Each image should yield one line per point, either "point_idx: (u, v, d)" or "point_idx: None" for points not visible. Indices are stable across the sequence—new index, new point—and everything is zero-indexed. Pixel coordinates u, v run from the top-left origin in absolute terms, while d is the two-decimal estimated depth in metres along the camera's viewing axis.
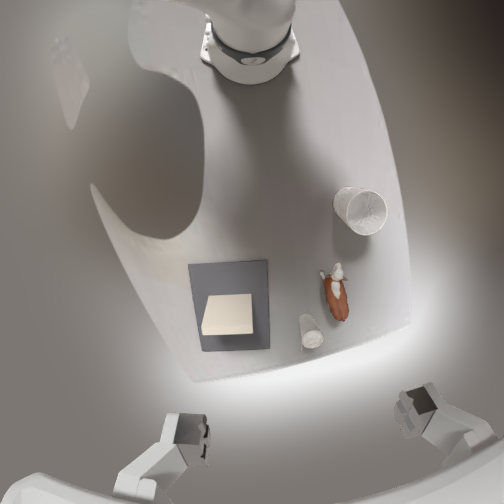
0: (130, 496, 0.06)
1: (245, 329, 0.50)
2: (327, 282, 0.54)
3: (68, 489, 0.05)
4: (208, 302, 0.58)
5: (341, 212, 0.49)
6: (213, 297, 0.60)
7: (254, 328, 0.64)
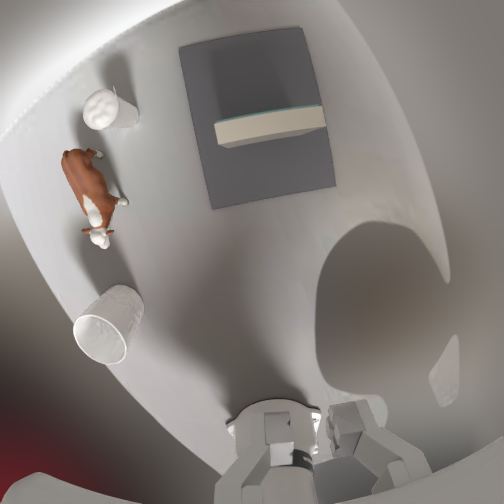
0: None
1: (231, 130, 0.22)
2: (109, 214, 0.31)
3: (68, 489, 0.05)
4: None
5: (129, 322, 0.34)
6: None
7: (211, 82, 0.31)
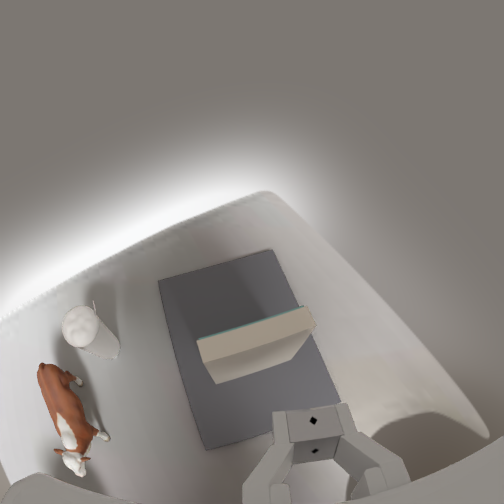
0: None
1: (216, 347, 0.20)
2: (85, 441, 0.20)
3: (68, 489, 0.05)
4: (293, 354, 0.29)
5: None
6: (282, 361, 0.30)
7: (192, 315, 0.34)
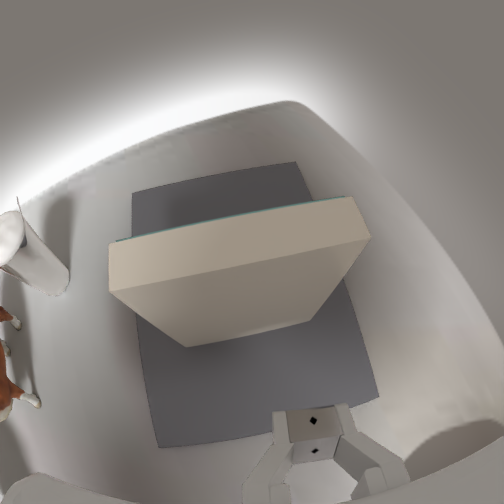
0: None
1: (142, 259, 0.09)
2: None
3: (68, 489, 0.05)
4: (314, 310, 0.17)
5: None
6: (296, 321, 0.19)
7: None
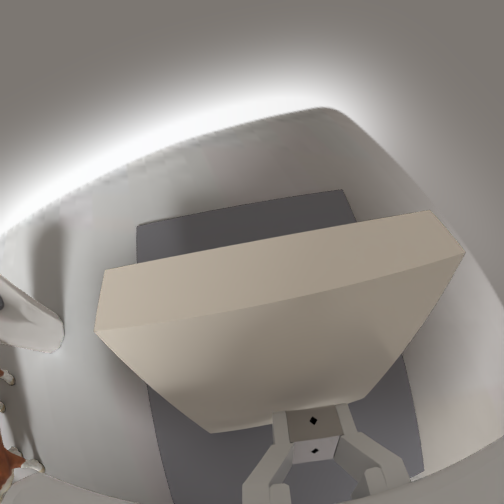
0: None
1: (147, 290, 0.06)
2: None
3: (68, 489, 0.05)
4: (373, 383, 0.12)
5: None
6: (348, 399, 0.14)
7: None
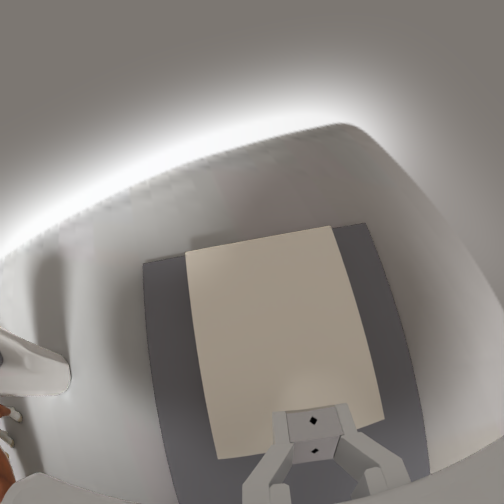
0: None
1: None
2: None
3: (68, 489, 0.05)
4: (369, 371, 0.14)
5: None
6: (361, 409, 0.13)
7: None
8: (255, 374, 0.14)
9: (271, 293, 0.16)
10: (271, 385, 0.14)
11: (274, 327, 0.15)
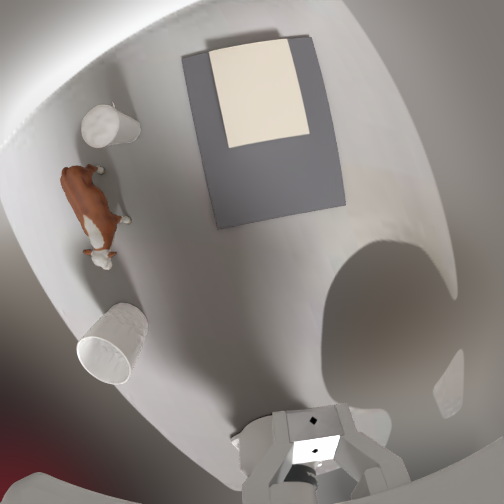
0: None
1: None
2: (110, 235, 0.30)
3: (68, 489, 0.05)
4: (301, 108, 0.29)
5: (133, 343, 0.33)
6: (297, 126, 0.29)
7: (217, 95, 0.30)
8: (246, 105, 0.29)
9: (253, 69, 0.27)
10: (253, 110, 0.29)
11: (255, 84, 0.28)
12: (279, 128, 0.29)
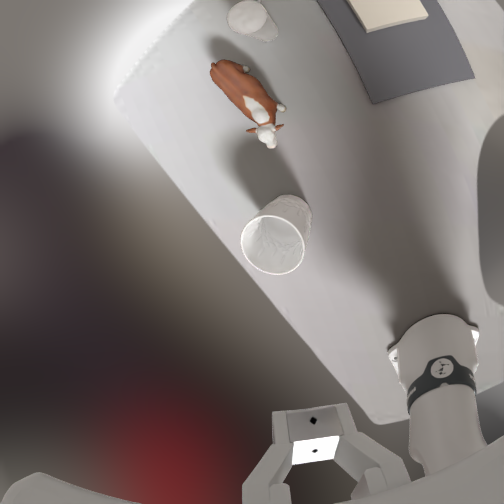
0: None
1: None
2: (274, 112, 0.30)
3: (68, 489, 0.05)
4: None
5: (304, 223, 0.35)
6: (417, 10, 0.20)
7: None
8: None
9: None
10: None
11: None
12: (403, 12, 0.21)
